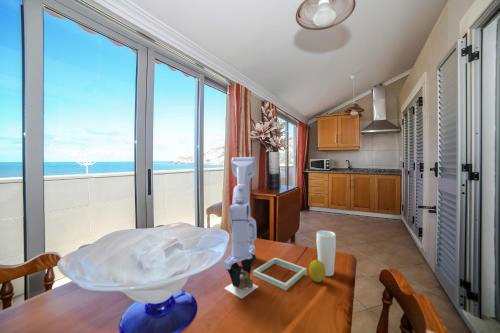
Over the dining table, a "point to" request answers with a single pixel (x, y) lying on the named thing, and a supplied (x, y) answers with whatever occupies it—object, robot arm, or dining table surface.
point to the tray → (284, 264)
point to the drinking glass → (326, 250)
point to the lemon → (317, 271)
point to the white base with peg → (240, 290)
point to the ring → (245, 280)
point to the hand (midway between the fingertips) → (241, 281)
